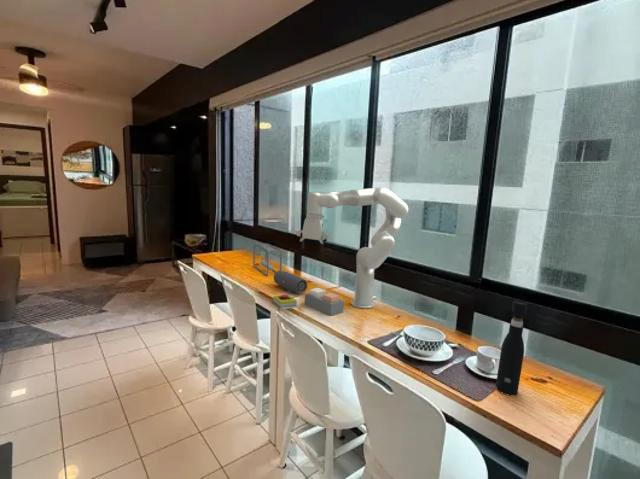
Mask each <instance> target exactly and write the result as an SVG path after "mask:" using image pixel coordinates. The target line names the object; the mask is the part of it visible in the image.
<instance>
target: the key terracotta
mask: <svg viewBox="0 0 640 479" xmlns="http://www.w3.org/2000/svg"><path fill="white" fill-rule="evenodd" d="M323 300H325V301H327V302H330V303H334V302H337V301H340V300H341V295H339V294H336V293H333V292H328V293H326V294H324V295H323Z"/></svg>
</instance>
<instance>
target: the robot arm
mask: <svg viewBox="0 0 640 479" xmlns="http://www.w3.org/2000/svg"><path fill="white" fill-rule="evenodd" d="M371 205H381V206H382V207H384V210H385V220H384V222H383V224H382V225H381V226H380V227H379V228H378V230H377V231H376V232H375V233H374V234H373V236H372V237H371V239H370V244H371V246H372V247H367V246H364V247H361V248H359V250H358V251H357V253H356V256H355V257H356V259H355V260H356V273H355V283H354V284H355V285H354V298H353V299H352V300H351V301H350V304H351V305H352V306H353V307H355V308H358V309H372V308H374V307H375V303H374V300H376V299H377V295H373V292H374V280H375V270H376V269H378V268H379V267H380V266H381V265H382V264H383V263H384V262H385V260H386V259H387V258H388V257H389V256H390V255H391V253H392V252H393V251H394V249H395V246H396V241H395V238H394V237H395V236H396V234H398V232H399V230H400V228H401V226H402V225H401V224H402V219H405V217H406V216H407V215H408V213H409V205H407V203H406V202H405V201H404V200H402V199H401V198H400V197H398V195H396V194H395V193H394V192H392V190H390V189H388V188H387V187H370V188H369V187H367V188H361V189H360V188H359V189H350V190H343V191H331V192H326V193H325V192H324V193H321V192H317V191H316V192H315V191H314V192H311V191H310V192H308V195H307V207H306V217H305V219H304V221H303V226H302V229H301V230H299V231H296V232H295V233H296V234H295V235H296V236H297V239H298V240H299V242H300V249H301V250H304V249H305V240H306V239H307V240H316V241H317V240H318V241H319V242H320V243H319V247H318V248H319V250H318V251H319V253H320V252H322V251H323V249H324V243H326V242H327V241H328V240H329V238H330V235H329V234H327V233H325V231H324V221H323V219H325V215H323V213H322V212H323V208H327V209H334V208H336V207H338V206H341V207H342V206H349V207H362V206H371ZM301 234H302V236H301ZM323 238H324V239H323Z"/></svg>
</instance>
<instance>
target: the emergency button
mask: <svg viewBox="0 0 640 479" xmlns="http://www.w3.org/2000/svg"><path fill="white" fill-rule="evenodd" d="M272 302H273V303H275V304H276V306H278V307H279V308H280V309H282V310H288V309H295V308H299V305H298V304H297V303H298V300H297V299H295V298H294V297H293V296H291V295H290V294H282V295H281V294H280V295H274V296H273V298H272Z"/></svg>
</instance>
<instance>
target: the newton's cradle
mask: <svg viewBox="0 0 640 479" xmlns="http://www.w3.org/2000/svg"><path fill="white" fill-rule="evenodd" d="M256 247H258V248H260V252H261V254H262V253H263V254H262V256H263V257H261V258H262V259H261V261H259V262H260V265H256ZM263 251H264V252H263ZM271 251H273V252H280V255H279V256H280V257H279V259H280V260H279V271H282V262H283V251H282V249H280V248H278V247H277V246H274V245H272V244H270V243H254V244H253V261H252V264H253V267H254V268H255V269H256V270H257V271H259V272H260V273H261V274H263V275H264V277H265V276H266V277H268V276H269V271H272V272H274V273H273V274H272V276H274V275H275V273H276V272H277V271H278V270H275V269H274V266H273V265H272V262H271V261H273V259H274V258H272V259H271V257H270V253H271V255H272V254H273V256H275V255H274V254H275V253H273V252H271ZM261 266H262V267H264V268H266V272H264V271H263V270H261V269H260V267H261Z"/></svg>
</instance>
